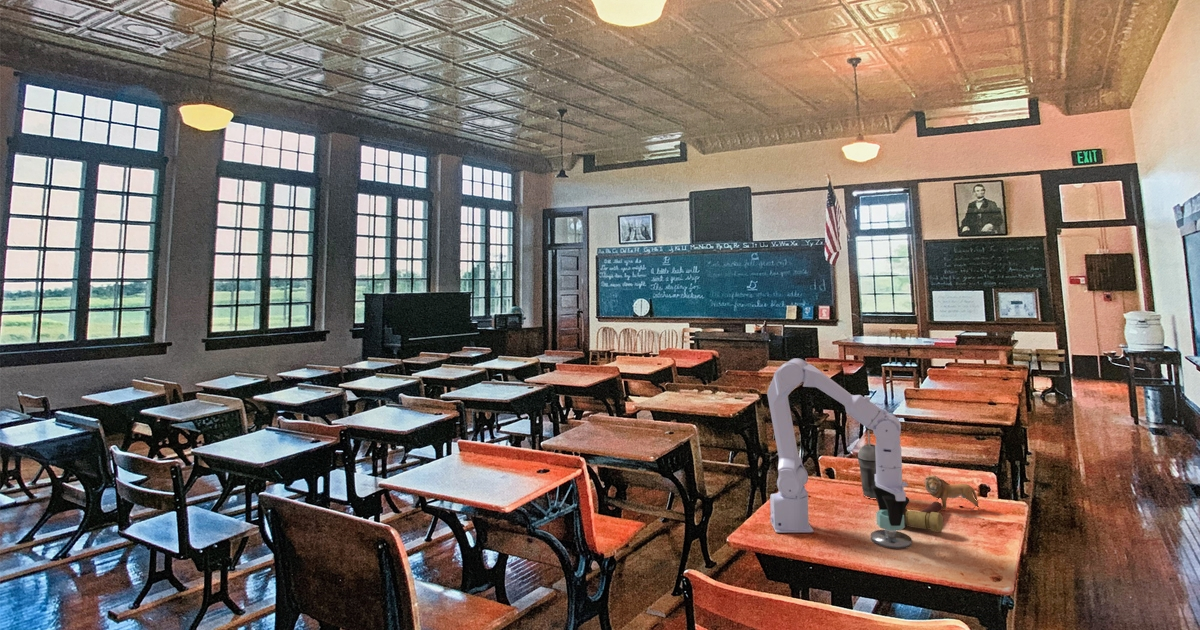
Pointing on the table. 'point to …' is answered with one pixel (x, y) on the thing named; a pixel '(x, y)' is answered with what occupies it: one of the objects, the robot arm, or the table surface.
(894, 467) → the robot arm
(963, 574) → the table surface
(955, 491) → the lion figurine
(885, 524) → the ring
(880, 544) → the grey peg stand
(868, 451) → the beverage cup
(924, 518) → the gavel
